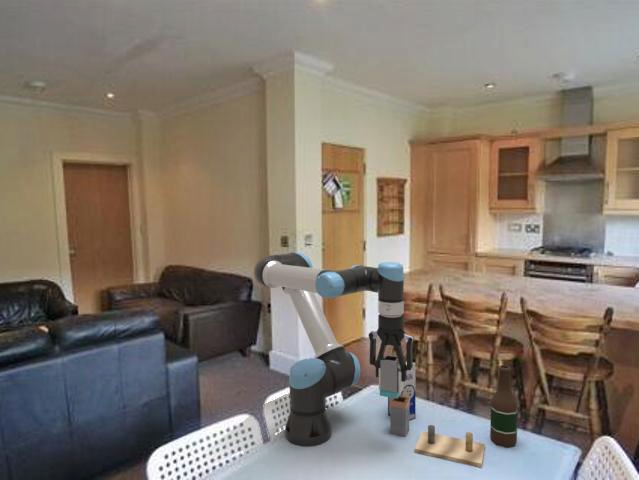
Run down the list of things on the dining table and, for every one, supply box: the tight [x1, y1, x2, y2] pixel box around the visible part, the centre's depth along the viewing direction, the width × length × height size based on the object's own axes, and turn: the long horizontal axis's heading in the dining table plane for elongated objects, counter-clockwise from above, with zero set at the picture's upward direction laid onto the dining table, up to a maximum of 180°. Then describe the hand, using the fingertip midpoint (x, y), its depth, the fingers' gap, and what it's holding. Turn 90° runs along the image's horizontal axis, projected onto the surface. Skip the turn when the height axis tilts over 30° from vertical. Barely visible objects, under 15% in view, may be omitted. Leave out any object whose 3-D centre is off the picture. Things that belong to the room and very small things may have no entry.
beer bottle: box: [489, 364, 519, 449], centre depth 134 cm, size 8×8×24 cm
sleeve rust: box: [389, 395, 410, 438], centre depth 142 cm, size 5×5×11 cm
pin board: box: [413, 424, 486, 469], centre depth 131 cm, size 19×11×6 cm, turn 65°
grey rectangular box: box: [379, 354, 401, 399], centre depth 131 cm, size 5×5×11 cm
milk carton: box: [387, 361, 417, 421], centre depth 151 cm, size 7×7×20 cm
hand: (390, 389), depth 132 cm, fingers closed on grey rectangular box, 5 cm apart
